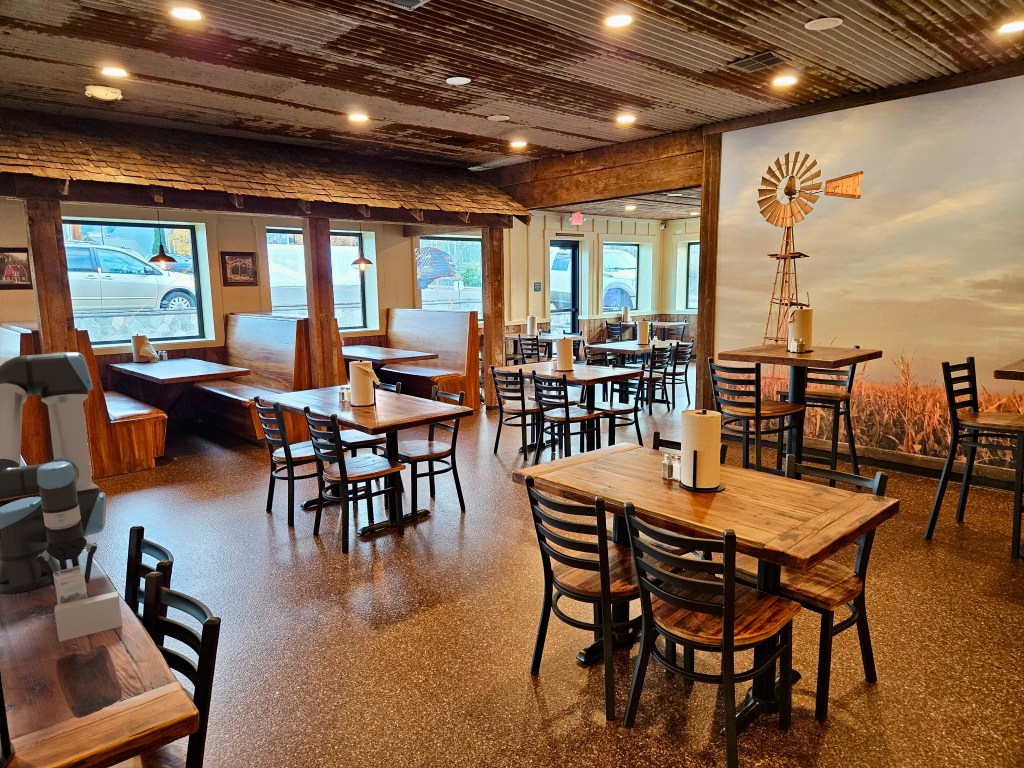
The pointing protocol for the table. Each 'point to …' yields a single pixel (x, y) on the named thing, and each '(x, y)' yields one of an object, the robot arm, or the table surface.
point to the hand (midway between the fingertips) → (76, 610)
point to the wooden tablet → (89, 681)
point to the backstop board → (88, 616)
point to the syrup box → (70, 585)
